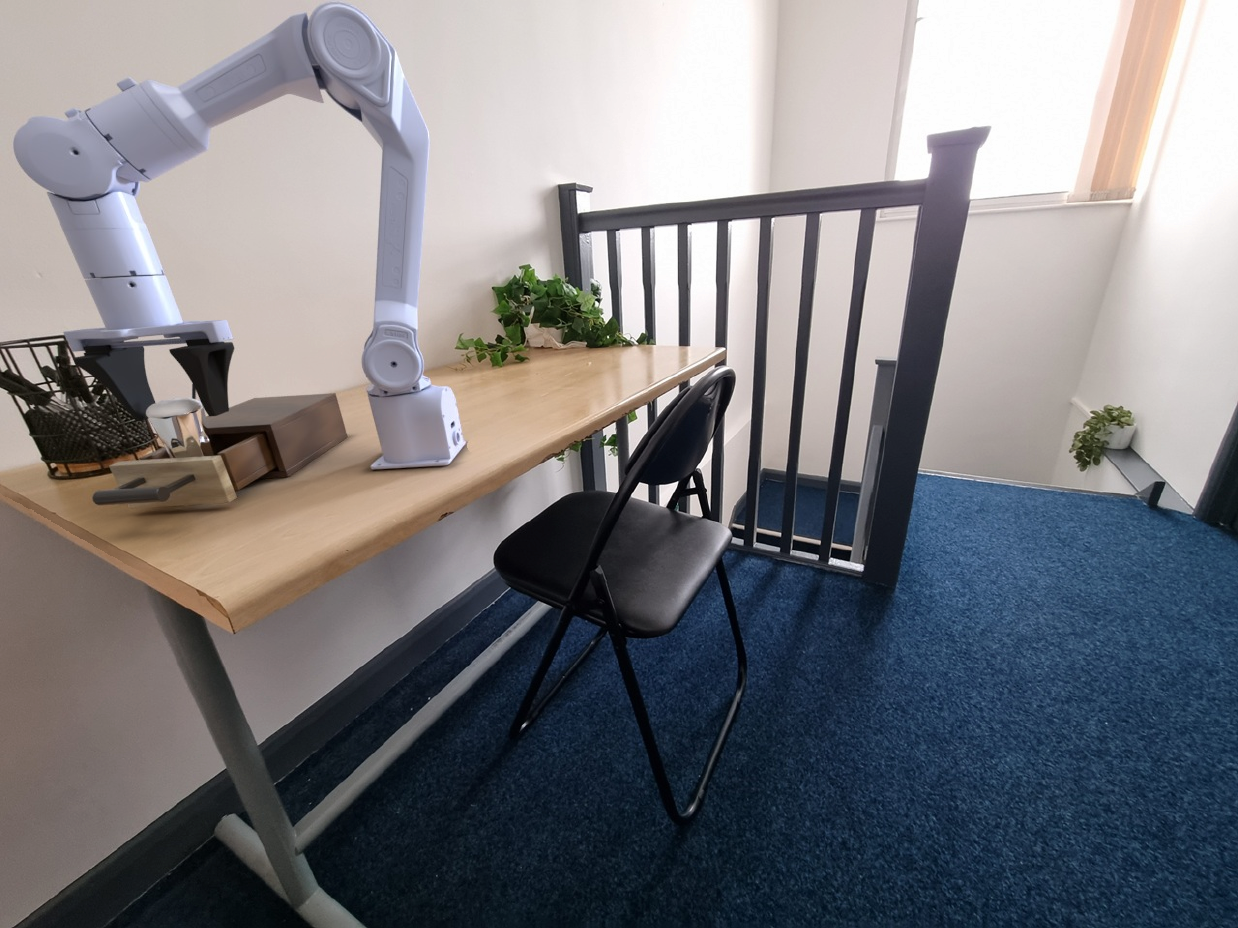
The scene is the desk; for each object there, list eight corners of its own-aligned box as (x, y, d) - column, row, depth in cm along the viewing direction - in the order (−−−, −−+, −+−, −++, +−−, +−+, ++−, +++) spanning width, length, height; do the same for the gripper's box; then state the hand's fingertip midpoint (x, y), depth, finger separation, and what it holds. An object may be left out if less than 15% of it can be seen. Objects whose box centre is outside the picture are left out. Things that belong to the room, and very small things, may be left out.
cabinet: (288, 477, 59) (270, 424, 57) (191, 482, 59) (169, 430, 57) (347, 437, 73) (335, 393, 70) (269, 441, 73) (254, 397, 70)
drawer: (193, 525, 47) (173, 478, 45) (84, 531, 47) (59, 485, 45) (304, 455, 63) (293, 419, 62) (223, 460, 63) (209, 424, 62)
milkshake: (245, 469, 57) (213, 382, 53) (204, 489, 52) (166, 395, 48) (209, 469, 57) (175, 384, 53) (166, 489, 52) (125, 397, 48)
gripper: (2, 284, 43) (76, 432, 48) (167, 273, 43) (224, 423, 48) (82, 281, 50) (140, 412, 55) (226, 272, 50) (270, 403, 55)
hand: (183, 416), depth 52 cm, fingers open, 7 cm apart
